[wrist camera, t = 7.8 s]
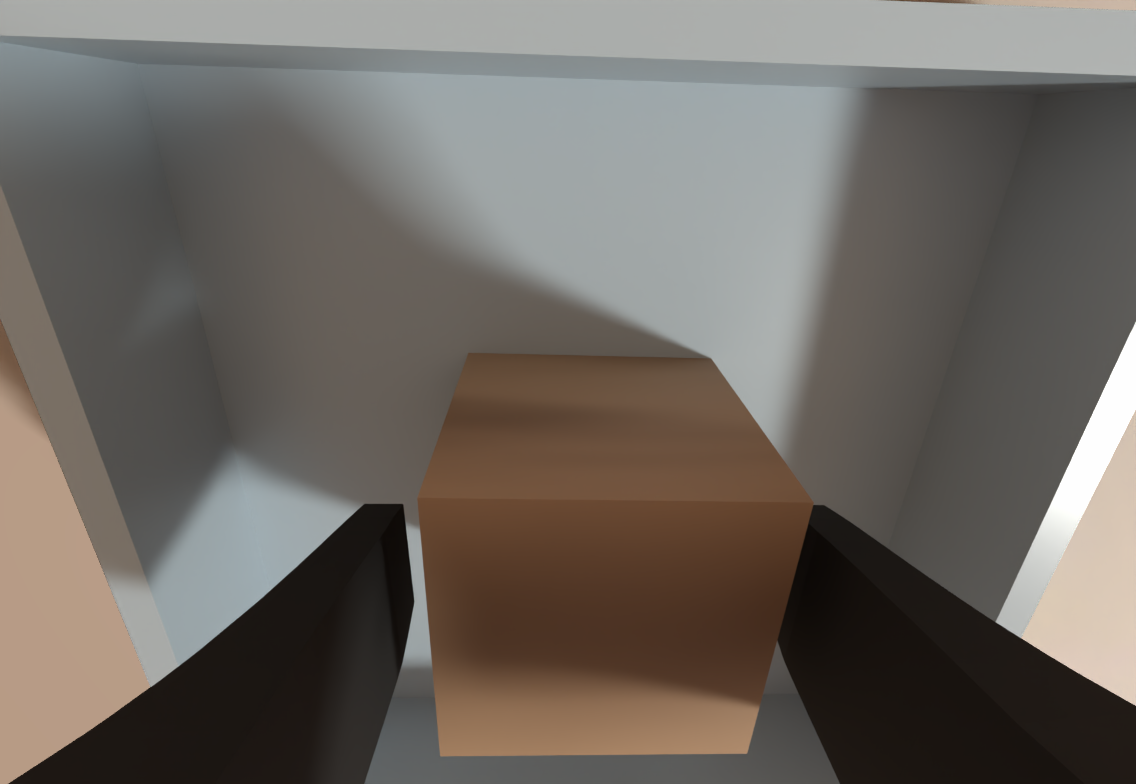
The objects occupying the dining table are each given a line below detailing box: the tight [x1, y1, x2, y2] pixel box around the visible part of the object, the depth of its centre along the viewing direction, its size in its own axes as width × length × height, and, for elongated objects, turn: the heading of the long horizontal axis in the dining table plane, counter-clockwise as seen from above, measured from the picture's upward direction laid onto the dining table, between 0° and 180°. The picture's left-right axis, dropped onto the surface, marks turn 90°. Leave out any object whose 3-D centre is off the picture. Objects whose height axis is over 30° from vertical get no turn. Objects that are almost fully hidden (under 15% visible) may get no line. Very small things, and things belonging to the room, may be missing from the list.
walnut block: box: [417, 353, 814, 756], centre depth 10 cm, size 5×5×5 cm
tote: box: [0, 0, 1136, 784], centre depth 11 cm, size 15×15×4 cm
